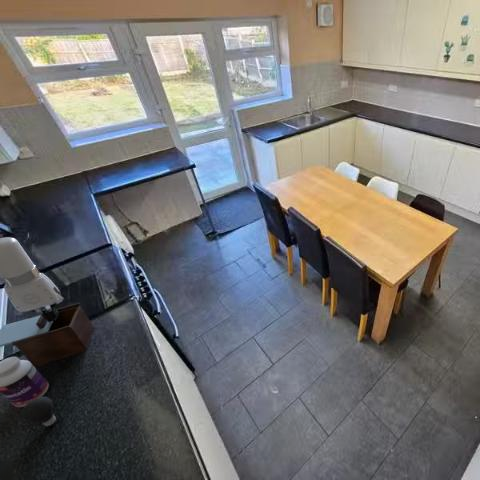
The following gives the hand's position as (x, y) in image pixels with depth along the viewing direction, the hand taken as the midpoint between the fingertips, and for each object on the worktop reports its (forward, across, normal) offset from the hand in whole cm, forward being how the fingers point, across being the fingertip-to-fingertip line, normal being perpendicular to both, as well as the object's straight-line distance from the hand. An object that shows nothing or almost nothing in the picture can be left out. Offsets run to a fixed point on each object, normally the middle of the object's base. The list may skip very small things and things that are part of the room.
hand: (53, 318), depth 92 cm
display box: (+13, -2, 0) cm, 13 cm away
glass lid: (+1, -8, 0) cm, 8 cm away
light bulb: (+13, +2, -31) cm, 34 cm away
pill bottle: (+13, -6, -18) cm, 23 cm away
